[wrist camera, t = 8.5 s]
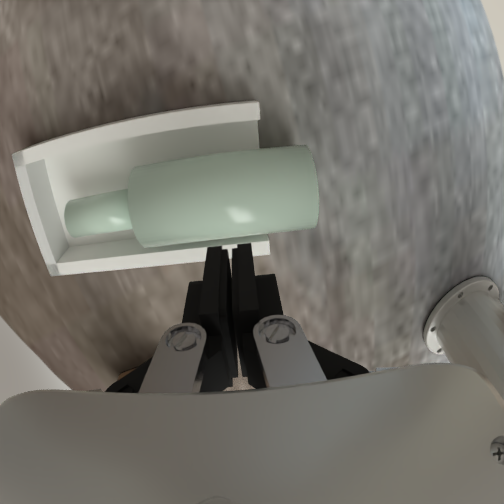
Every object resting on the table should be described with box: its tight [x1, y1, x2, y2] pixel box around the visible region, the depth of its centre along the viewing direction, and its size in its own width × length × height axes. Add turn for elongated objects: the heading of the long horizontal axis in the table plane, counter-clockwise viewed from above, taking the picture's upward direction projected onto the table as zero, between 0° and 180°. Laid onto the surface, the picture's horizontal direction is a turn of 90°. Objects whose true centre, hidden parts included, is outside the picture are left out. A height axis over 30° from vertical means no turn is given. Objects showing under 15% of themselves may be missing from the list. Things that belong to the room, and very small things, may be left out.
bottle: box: [64, 145, 319, 248], centre depth 22 cm, size 6×6×18 cm
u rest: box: [12, 100, 270, 276], centre depth 23 cm, size 20×11×3 cm, turn 95°
